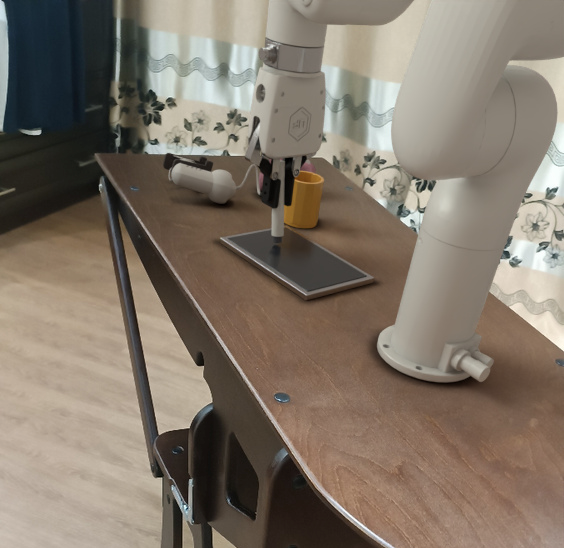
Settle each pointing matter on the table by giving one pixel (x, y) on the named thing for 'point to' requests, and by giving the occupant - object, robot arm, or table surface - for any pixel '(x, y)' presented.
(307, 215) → the pen cup
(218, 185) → the clip-on lamp
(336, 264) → the tablet
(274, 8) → the robot arm
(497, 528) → the table surface
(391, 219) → the table surface
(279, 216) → the stylus
